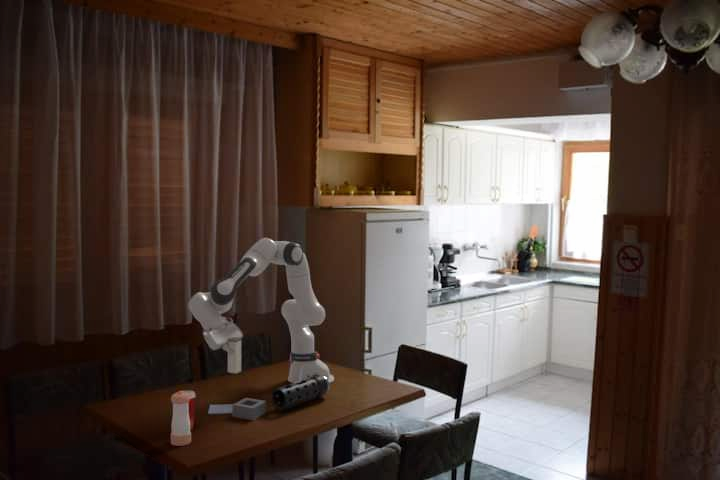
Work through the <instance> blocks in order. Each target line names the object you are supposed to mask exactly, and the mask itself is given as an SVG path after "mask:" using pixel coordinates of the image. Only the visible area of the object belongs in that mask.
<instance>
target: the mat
mask: <svg viewBox="0 0 720 480" xmlns="http://www.w3.org/2000/svg"><path fill="white" fill-rule="evenodd" d="M233 404H234V403H233ZM233 404H232V403H231V404H227V403H226V404H210V405H209V408H208V411H207V415H226V414H227V415H228V414H229V415H230V414H231V415H232V405H233Z"/></svg>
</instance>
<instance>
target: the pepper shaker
mask: <svg viewBox="0 0 720 480" xmlns="http://www.w3.org/2000/svg"><path fill="white" fill-rule="evenodd" d="M182 391H183V390H179V391H178V392H175V393H173V394H172V395H171V397H170V401H171V403H172V419H171V424H170V425H171V432H170V444H171V445H172V446H176V447H177V446H179V447H181V446H185V445H189V444H190V443H191V442H192V432H191V430H190V419H189V413H188V402H189V401H190V395H189V394H188V393H185V392H182Z"/></svg>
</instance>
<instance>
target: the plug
mask: <svg viewBox="0 0 720 480" xmlns="http://www.w3.org/2000/svg"><path fill="white" fill-rule="evenodd" d="M228 347H229V348H230V349H231V348H232V349H233V351H234V352H233V353H232V354H230V355H229V354H228V353H227V373H230V374H238V373H241V372H242V338H237V337H232V338H229V339H228Z"/></svg>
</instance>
